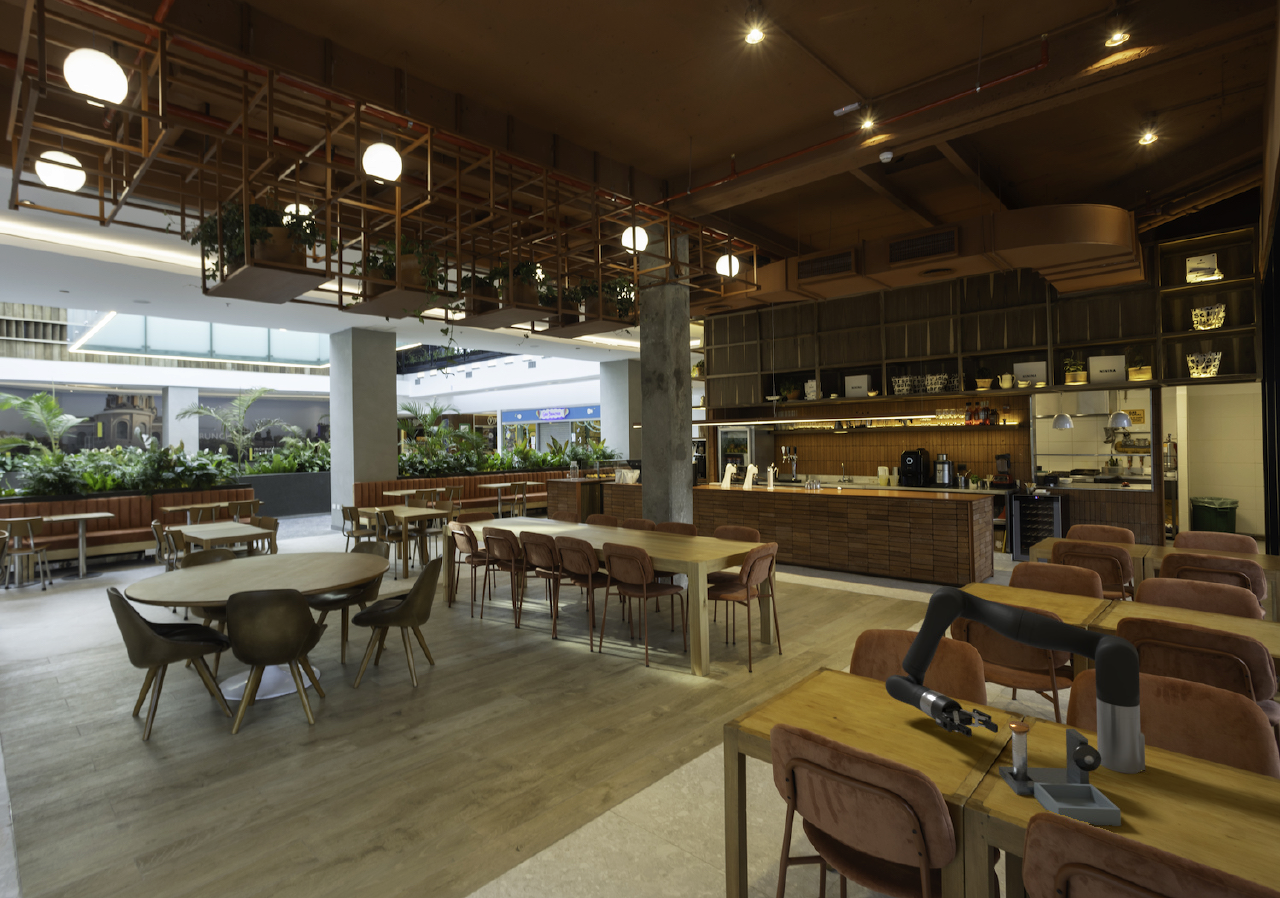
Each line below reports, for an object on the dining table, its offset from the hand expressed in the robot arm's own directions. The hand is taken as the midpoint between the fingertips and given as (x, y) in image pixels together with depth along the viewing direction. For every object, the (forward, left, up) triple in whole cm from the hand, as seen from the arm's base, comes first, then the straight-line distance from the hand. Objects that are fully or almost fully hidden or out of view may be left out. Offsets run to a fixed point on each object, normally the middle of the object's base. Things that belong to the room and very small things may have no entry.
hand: (984, 731), depth 174 cm
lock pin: (-4, +10, -9) cm, 14 cm away
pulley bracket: (-10, +10, -9) cm, 17 cm away
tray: (-11, +22, -9) cm, 26 cm away
